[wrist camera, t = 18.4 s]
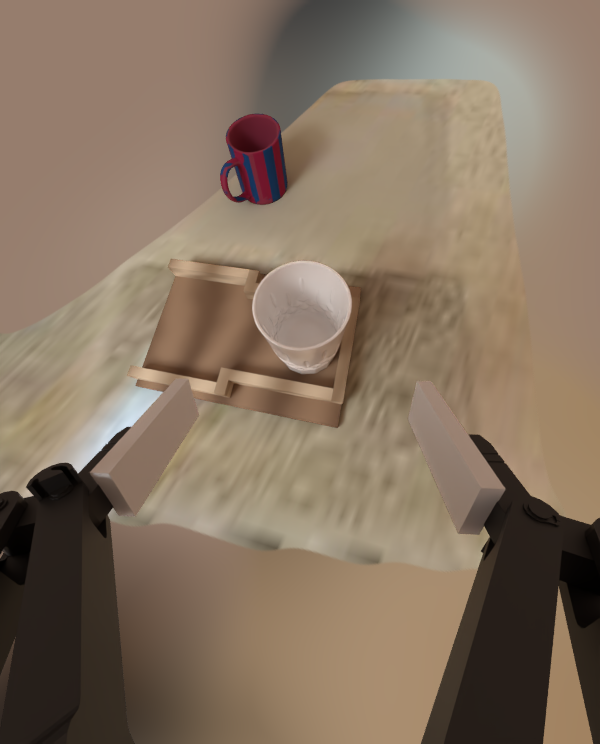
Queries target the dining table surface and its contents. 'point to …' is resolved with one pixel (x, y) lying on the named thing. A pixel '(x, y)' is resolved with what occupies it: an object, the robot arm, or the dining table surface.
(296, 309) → the white cup
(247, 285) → the wooden tray
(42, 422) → the dining table surface
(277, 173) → the mug
